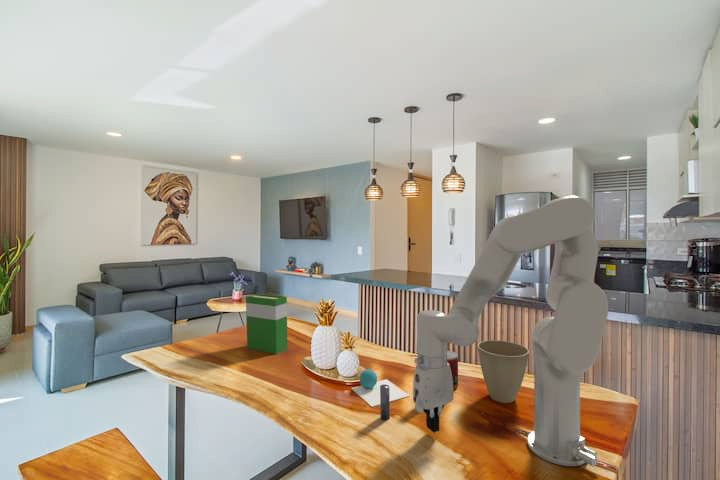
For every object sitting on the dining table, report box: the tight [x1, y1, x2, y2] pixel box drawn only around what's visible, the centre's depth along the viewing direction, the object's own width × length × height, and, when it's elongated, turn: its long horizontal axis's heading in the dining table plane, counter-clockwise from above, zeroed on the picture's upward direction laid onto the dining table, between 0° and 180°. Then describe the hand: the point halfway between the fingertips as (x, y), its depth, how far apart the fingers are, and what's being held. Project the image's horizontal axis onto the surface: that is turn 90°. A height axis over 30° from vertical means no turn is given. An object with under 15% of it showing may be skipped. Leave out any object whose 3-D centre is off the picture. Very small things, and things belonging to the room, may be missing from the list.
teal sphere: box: [359, 369, 378, 388], centre depth 117 cm, size 6×6×6 cm
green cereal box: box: [245, 293, 289, 355], centre depth 158 cm, size 18×7×24 cm, turn 62°
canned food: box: [447, 350, 459, 391], centre depth 117 cm, size 8×8×11 cm
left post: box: [379, 384, 391, 421], centre depth 98 cm, size 3×3×9 cm
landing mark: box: [351, 379, 411, 408], centre depth 114 cm, size 14×14×1 cm
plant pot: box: [477, 339, 530, 404], centre depth 109 cm, size 15×15×16 cm
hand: (432, 429), depth 90 cm, fingers closed
